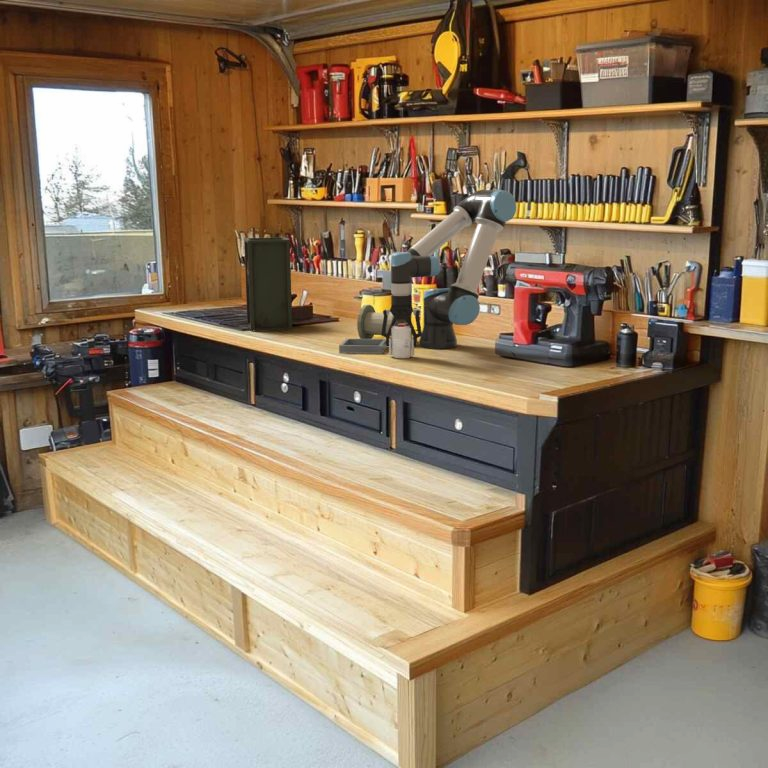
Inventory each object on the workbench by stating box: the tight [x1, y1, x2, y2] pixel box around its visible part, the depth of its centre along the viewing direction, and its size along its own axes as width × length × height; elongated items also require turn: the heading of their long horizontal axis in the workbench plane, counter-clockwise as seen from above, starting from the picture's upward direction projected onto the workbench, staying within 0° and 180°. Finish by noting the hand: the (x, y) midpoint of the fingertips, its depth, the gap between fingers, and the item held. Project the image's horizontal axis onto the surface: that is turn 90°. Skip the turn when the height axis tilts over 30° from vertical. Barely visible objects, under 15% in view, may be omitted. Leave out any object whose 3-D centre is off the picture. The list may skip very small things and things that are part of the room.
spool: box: [356, 304, 408, 339], centre depth 374 cm, size 16×15×15 cm
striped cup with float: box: [389, 323, 414, 359], centre depth 340 cm, size 10×8×12 cm
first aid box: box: [243, 237, 293, 331], centre depth 411 cm, size 18×18×40 cm
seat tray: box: [338, 338, 388, 355], centre depth 357 cm, size 16×16×3 cm
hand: (401, 354), depth 342 cm, fingers closed on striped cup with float, 8 cm apart
